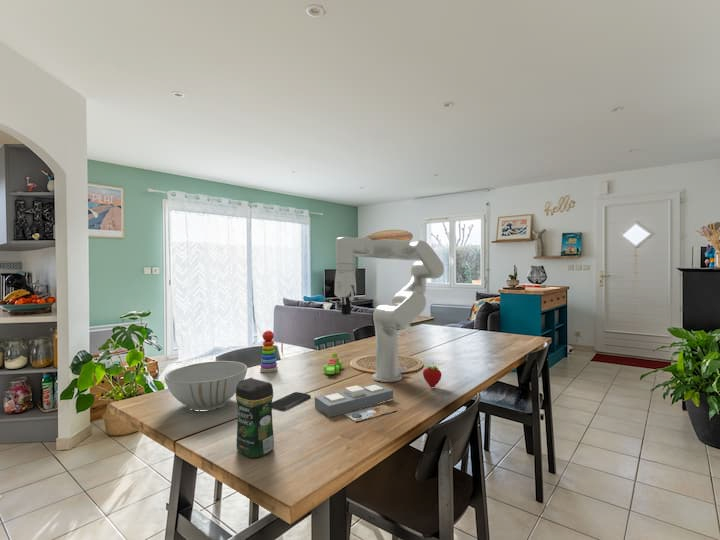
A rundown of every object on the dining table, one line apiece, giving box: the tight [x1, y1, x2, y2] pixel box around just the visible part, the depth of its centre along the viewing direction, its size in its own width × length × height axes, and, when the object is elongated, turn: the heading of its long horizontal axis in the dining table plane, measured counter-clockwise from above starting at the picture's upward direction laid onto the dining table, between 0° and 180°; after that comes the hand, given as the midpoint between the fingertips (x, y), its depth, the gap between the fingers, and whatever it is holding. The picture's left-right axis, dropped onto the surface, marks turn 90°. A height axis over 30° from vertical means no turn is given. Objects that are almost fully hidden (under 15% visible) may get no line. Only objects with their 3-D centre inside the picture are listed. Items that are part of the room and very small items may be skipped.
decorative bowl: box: [164, 360, 248, 412], centre depth 130 cm, size 27×27×12 cm
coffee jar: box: [235, 377, 275, 459], centre depth 97 cm, size 10×8×19 cm
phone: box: [272, 391, 311, 411], centre depth 132 cm, size 8×1×15 cm
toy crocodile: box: [323, 353, 343, 375], centre depth 170 cm, size 20×7×6 cm, turn 173°
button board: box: [314, 382, 394, 418], centre depth 129 cm, size 26×10×4 cm, turn 123°
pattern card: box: [344, 406, 376, 421], centre depth 120 cm, size 16×7×1 cm, turn 123°
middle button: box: [344, 385, 365, 397], centre depth 129 cm, size 5×5×4 cm
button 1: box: [325, 393, 345, 402], centre depth 125 cm, size 5×5×4 cm
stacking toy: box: [259, 330, 279, 374], centre depth 172 cm, size 8×8×19 cm
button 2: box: [364, 385, 383, 393], centre depth 133 cm, size 5×5×4 cm
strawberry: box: [422, 362, 443, 388], centre depth 145 cm, size 6×8×10 cm
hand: (346, 314), depth 147 cm, fingers closed
